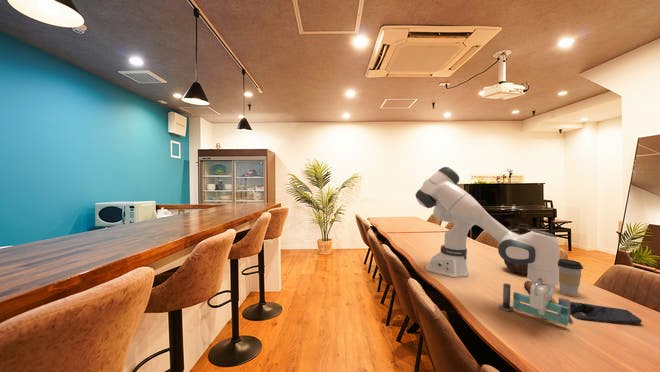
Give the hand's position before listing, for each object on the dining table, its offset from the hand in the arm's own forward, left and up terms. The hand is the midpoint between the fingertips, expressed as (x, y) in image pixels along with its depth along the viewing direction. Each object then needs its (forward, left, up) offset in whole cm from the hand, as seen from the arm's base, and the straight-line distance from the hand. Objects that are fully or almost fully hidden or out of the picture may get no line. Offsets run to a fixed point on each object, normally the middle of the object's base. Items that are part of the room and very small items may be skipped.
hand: (541, 313), depth 94 cm
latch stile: (+7, +9, -4) cm, 12 cm away
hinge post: (-11, +6, -4) cm, 13 cm away
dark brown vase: (-3, +62, -4) cm, 62 cm away
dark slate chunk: (+19, +22, -5) cm, 29 cm away
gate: (0, +3, -2) cm, 4 cm away
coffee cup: (+13, +40, -4) cm, 42 cm away
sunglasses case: (+2, +31, -5) cm, 31 cm away
